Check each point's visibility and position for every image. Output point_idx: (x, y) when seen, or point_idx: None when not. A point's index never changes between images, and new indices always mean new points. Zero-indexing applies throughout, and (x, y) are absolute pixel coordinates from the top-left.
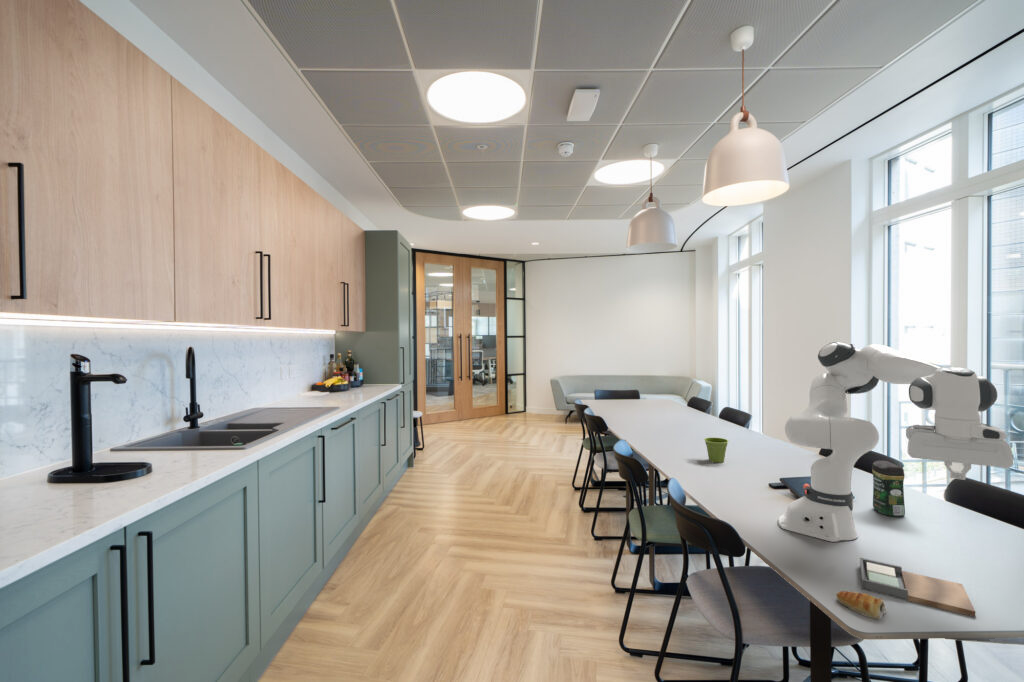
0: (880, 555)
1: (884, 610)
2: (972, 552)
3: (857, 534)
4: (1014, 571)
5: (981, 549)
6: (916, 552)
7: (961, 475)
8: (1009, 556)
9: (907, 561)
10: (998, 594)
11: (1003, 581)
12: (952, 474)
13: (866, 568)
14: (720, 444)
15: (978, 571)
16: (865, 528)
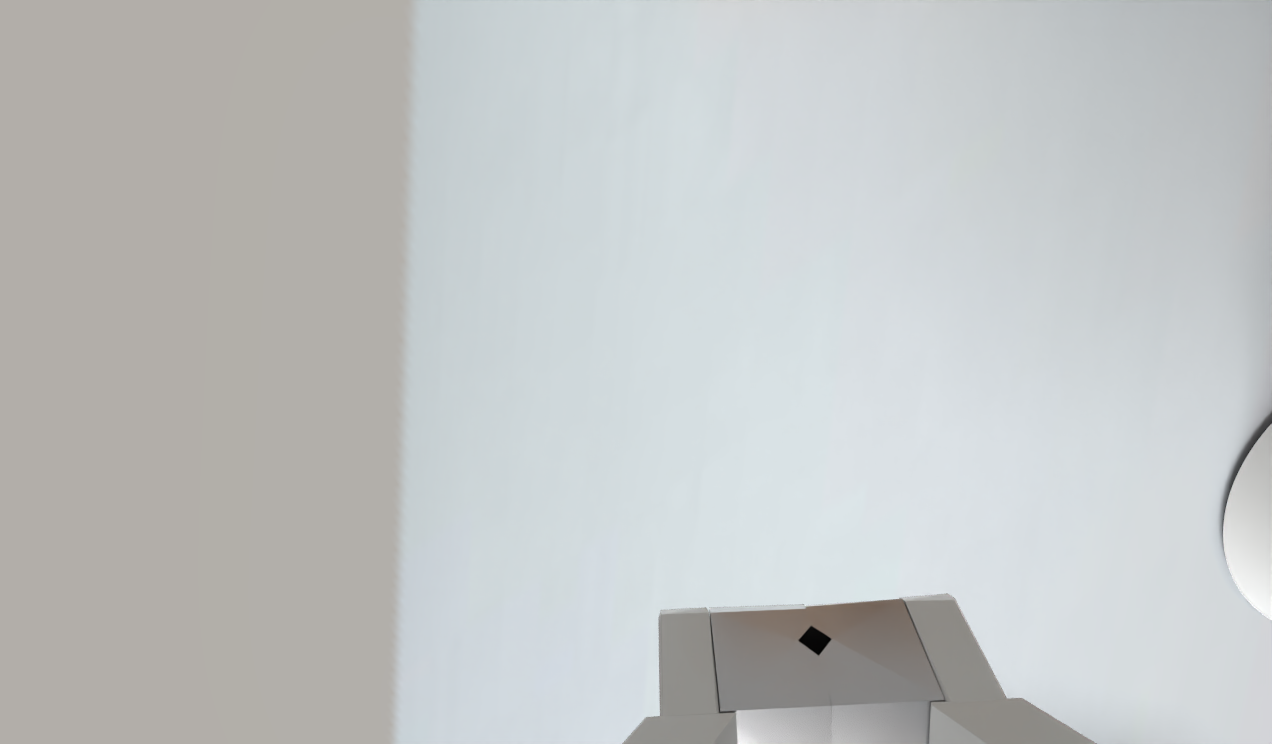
0: (1126, 249)
1: None
2: (587, 652)
3: (1233, 514)
4: (405, 500)
5: (542, 723)
6: (887, 456)
7: (743, 660)
8: (421, 705)
9: (963, 256)
10: (495, 49)
11: (461, 299)
12: (937, 652)
13: None
14: None
15: (576, 371)
16: (1142, 680)
